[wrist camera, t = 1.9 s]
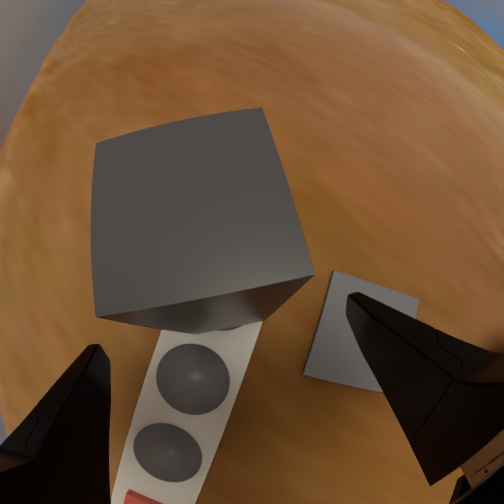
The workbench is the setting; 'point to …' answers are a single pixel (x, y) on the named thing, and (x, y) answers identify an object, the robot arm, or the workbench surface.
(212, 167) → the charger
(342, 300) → the mat
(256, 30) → the workbench surface
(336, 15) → the workbench surface
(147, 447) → the power strip
